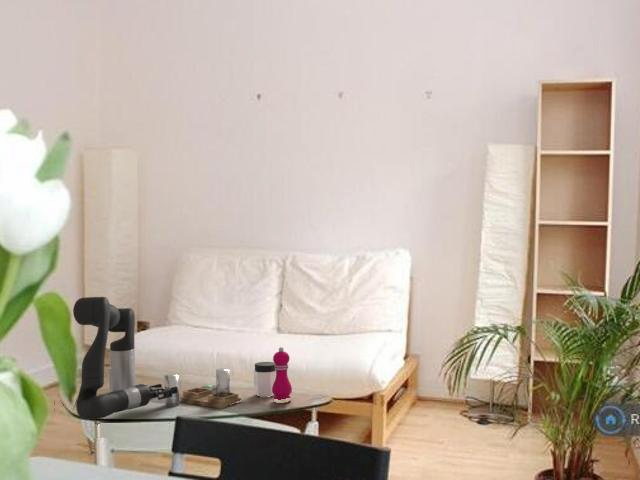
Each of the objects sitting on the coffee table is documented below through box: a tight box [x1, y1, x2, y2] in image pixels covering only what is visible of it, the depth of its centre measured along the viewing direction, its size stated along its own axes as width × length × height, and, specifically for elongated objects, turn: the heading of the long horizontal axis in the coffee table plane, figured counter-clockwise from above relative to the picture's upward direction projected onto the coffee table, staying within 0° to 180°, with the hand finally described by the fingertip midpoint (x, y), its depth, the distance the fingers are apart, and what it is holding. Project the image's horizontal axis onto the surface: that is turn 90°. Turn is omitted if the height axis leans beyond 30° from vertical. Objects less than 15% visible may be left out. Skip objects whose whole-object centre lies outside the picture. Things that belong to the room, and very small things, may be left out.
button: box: [203, 384, 212, 389], centre depth 275 cm, size 3×3×3 cm
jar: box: [253, 361, 276, 397], centre depth 272 cm, size 9×8×12 cm
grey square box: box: [199, 384, 216, 394], centre depth 275 cm, size 6×6×3 cm
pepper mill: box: [272, 346, 293, 400], centre depth 261 cm, size 7×7×20 cm
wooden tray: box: [180, 386, 242, 410], centre depth 263 cm, size 21×11×4 cm, turn 54°
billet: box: [164, 373, 180, 408], centre depth 259 cm, size 5×5×11 cm
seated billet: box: [215, 367, 231, 397], centre depth 259 cm, size 5×5×11 cm
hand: (168, 388), depth 258 cm, fingers open, 8 cm apart
